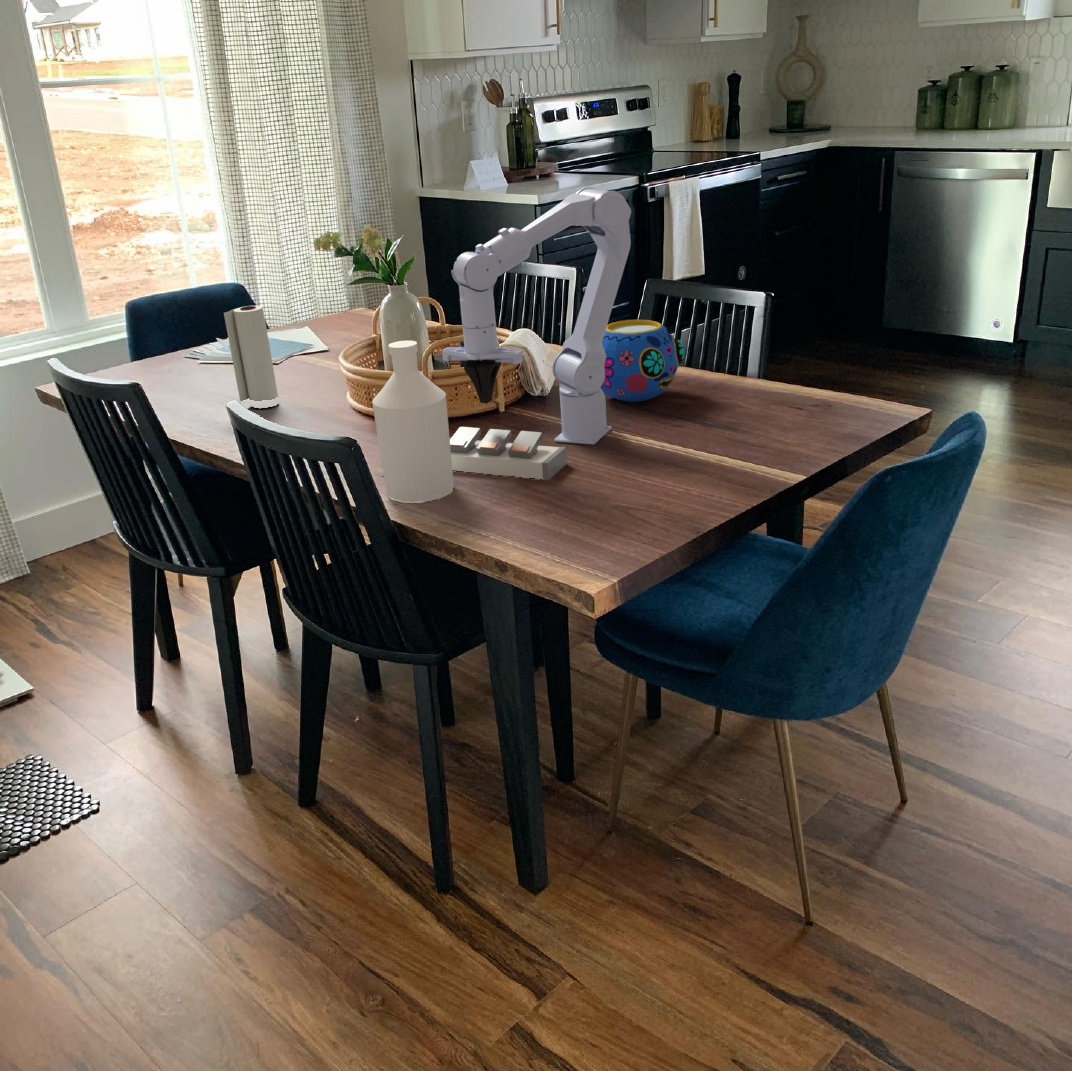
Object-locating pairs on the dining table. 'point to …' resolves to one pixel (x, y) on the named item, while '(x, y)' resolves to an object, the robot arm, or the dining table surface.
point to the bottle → (413, 430)
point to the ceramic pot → (639, 359)
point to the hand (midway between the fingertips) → (486, 401)
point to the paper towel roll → (251, 353)
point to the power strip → (512, 462)
